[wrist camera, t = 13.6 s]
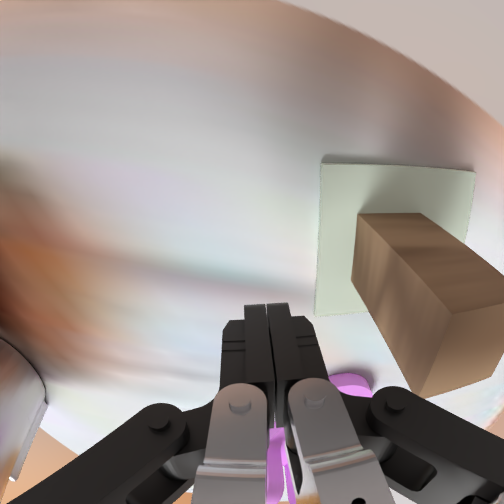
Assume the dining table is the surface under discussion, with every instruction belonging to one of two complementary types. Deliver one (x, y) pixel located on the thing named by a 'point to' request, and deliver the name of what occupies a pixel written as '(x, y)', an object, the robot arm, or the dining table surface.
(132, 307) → the dining table surface
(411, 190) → the mat
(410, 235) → the walnut block
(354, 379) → the bracket
